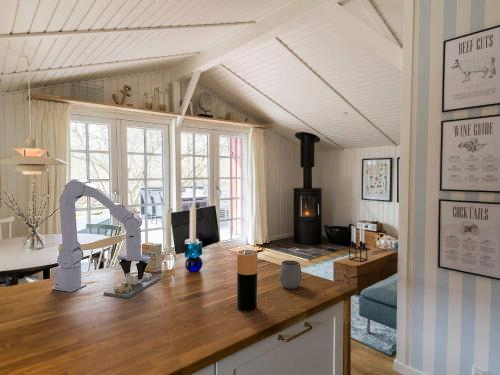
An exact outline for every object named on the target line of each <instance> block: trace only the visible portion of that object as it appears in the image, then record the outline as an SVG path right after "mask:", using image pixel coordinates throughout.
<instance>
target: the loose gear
mask: <svg viewBox="0 0 500 375" xmlns="http://www.w3.org/2000/svg"><path fill="white" fill-rule="evenodd" d="M125 281H126V283H128V284H133V285H134V284H137V283H140V282H141V281H143V279H141V280H138V271H137V270H132V271H130V272H129V273H127V274H126V278H125Z"/></svg>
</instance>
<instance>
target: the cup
mask: <svg viewBox="0 0 500 375" xmlns="http://www.w3.org/2000/svg"><path fill="white" fill-rule="evenodd" d="M278 278H279V281H280V283H281V286H282V287H283V288H285V289H289V290H293V289H297V288H298V287H299V286H300V284H301V282H302V280H303V274H302V268H301V263H300V261H297V260H293V259H292V260H289V259H287V260H283V261H281V264H280V269H279V274H278Z"/></svg>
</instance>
